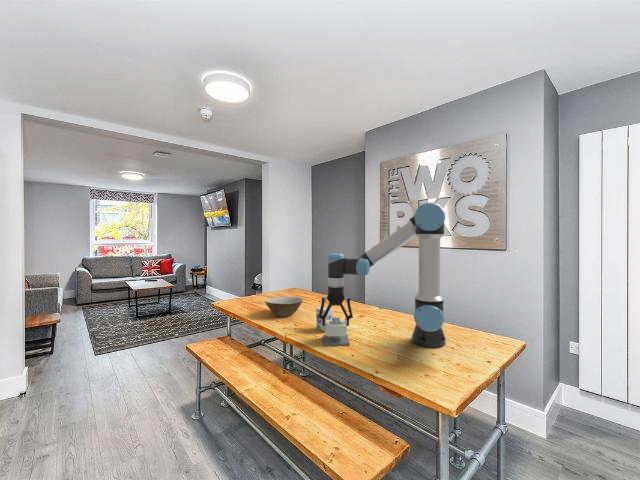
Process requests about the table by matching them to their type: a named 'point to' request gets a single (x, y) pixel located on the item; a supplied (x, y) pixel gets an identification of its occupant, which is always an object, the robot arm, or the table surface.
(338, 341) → the post
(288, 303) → the bowl
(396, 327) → the table surface
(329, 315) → the ink box
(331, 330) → the collar
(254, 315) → the table surface
